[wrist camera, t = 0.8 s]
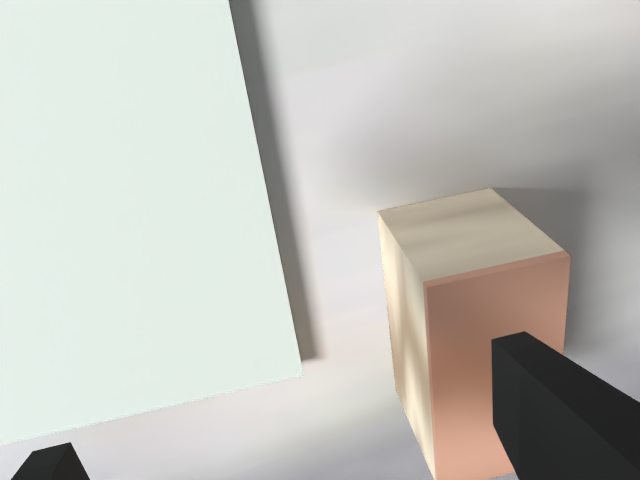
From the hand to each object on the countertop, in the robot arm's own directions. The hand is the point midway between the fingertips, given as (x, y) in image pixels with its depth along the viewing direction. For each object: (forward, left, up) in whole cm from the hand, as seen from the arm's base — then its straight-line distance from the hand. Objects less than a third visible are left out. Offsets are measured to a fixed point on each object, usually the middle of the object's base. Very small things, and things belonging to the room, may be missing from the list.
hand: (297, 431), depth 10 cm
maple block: (-5, -6, -10) cm, 12 cm away
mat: (+1, +6, -10) cm, 11 cm away
